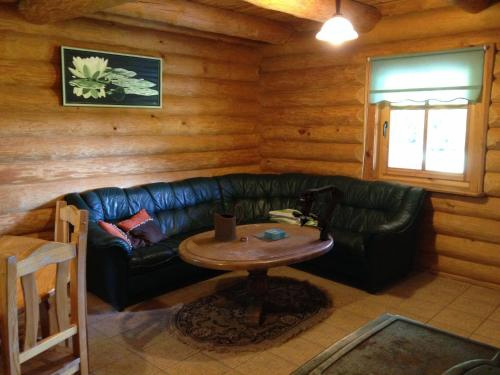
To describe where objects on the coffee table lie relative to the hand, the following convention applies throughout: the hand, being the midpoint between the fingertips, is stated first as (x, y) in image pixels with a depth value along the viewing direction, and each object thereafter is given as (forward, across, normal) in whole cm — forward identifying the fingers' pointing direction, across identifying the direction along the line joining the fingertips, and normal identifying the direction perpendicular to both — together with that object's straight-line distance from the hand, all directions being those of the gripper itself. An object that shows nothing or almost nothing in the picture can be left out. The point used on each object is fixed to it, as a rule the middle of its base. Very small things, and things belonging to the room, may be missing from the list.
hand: (301, 226), depth 316 cm
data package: (+13, +9, -8) cm, 18 cm away
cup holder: (+28, +41, -24) cm, 55 cm away
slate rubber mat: (+18, +11, -19) cm, 28 cm away
